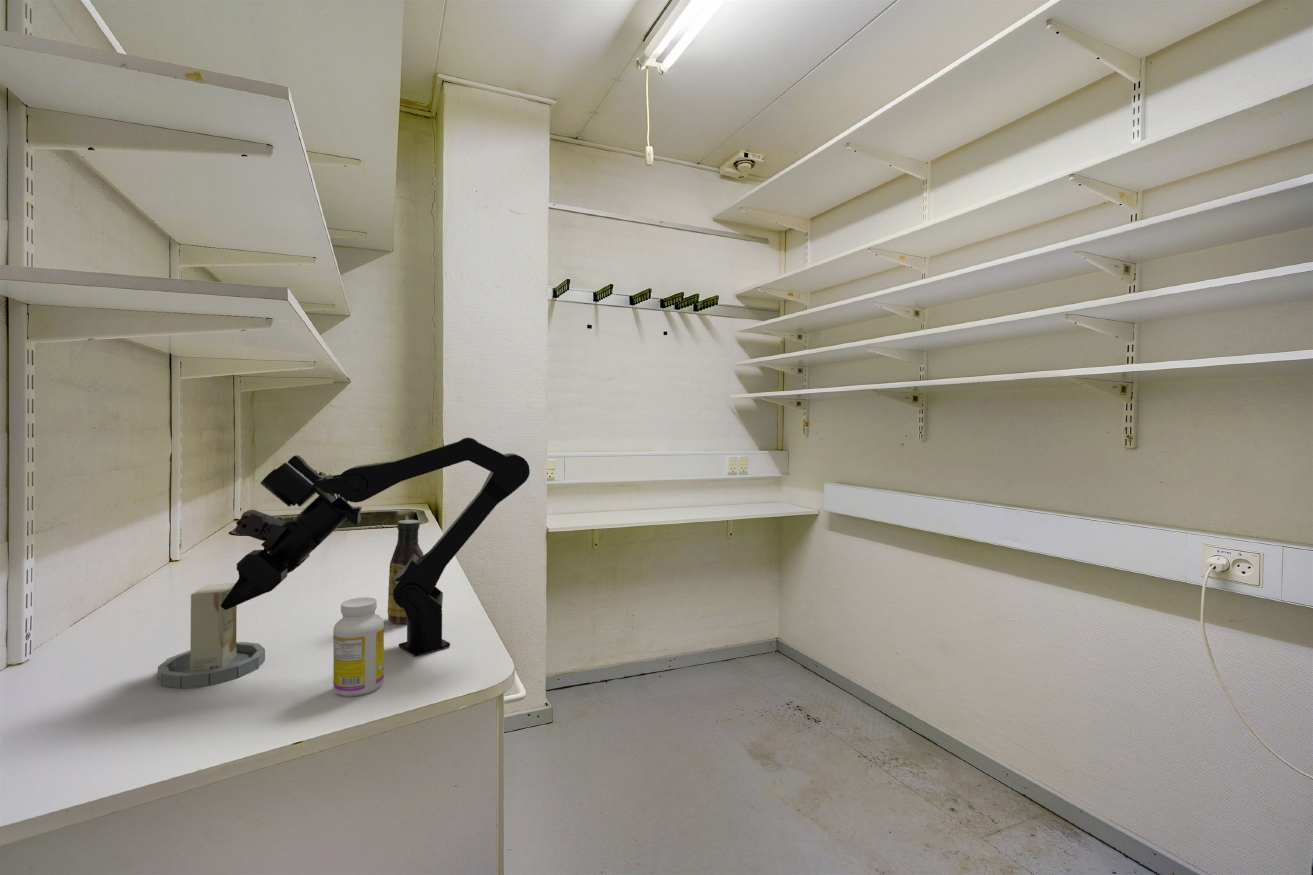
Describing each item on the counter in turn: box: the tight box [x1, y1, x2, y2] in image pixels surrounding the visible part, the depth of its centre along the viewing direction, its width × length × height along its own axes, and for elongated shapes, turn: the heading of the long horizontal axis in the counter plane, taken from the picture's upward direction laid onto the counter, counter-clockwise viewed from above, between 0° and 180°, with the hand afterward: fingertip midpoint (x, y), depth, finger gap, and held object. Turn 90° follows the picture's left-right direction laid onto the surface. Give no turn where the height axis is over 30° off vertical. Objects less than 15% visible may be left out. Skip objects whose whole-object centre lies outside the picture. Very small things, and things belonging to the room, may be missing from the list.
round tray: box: [157, 641, 266, 689], centre depth 91 cm, size 13×13×2 cm
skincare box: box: [189, 582, 238, 673], centre depth 91 cm, size 6×4×12 cm
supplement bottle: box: [332, 596, 385, 698], centre depth 85 cm, size 7×7×13 cm
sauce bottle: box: [387, 519, 424, 625], centre depth 114 cm, size 6×6×20 cm
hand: (234, 599), depth 91 cm, fingers open, 9 cm apart
